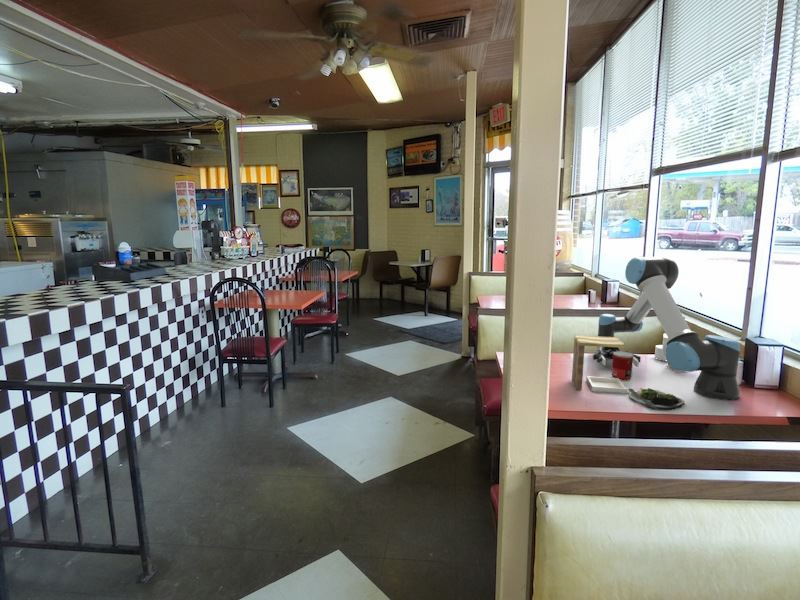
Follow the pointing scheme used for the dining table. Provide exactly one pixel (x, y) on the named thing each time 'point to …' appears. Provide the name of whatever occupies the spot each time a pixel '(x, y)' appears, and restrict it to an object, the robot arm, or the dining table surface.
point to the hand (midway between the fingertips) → (621, 363)
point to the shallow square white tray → (606, 384)
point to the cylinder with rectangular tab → (661, 349)
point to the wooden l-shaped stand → (579, 353)
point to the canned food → (622, 365)
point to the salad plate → (656, 399)
